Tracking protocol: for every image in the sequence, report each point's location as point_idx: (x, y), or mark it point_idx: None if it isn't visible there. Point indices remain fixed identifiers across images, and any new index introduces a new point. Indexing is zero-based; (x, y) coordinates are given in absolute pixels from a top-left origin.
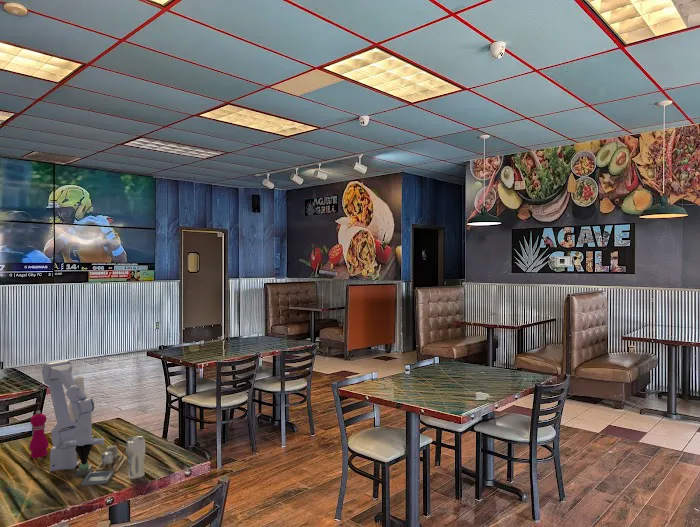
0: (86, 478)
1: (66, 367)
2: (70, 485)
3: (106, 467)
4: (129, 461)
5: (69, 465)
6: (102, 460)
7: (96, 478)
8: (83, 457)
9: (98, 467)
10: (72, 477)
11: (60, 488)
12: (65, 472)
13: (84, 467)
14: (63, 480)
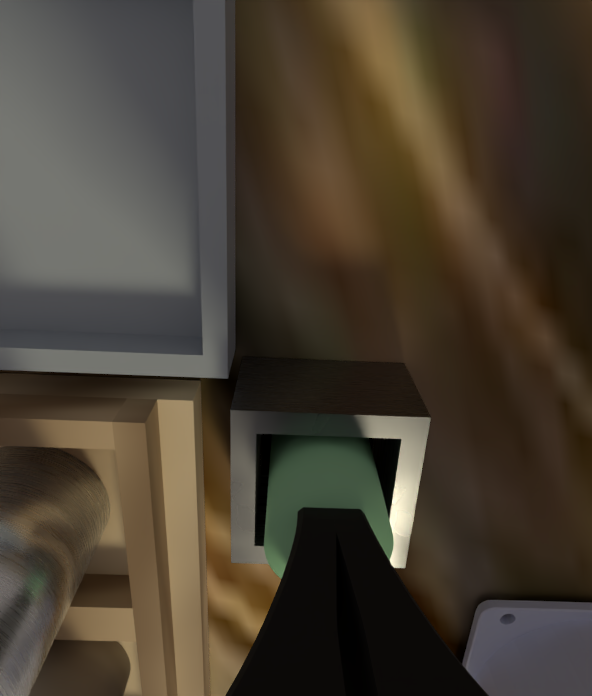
0: (199, 153)
1: None
2: (436, 105)
3: (5, 466)
4: None
5: (549, 655)
6: (17, 568)
7: (78, 215)
8: (334, 610)
9: (124, 482)
10: (459, 395)
11: (576, 15)
12: (563, 551)
13: (310, 460)
14: (562, 329)
